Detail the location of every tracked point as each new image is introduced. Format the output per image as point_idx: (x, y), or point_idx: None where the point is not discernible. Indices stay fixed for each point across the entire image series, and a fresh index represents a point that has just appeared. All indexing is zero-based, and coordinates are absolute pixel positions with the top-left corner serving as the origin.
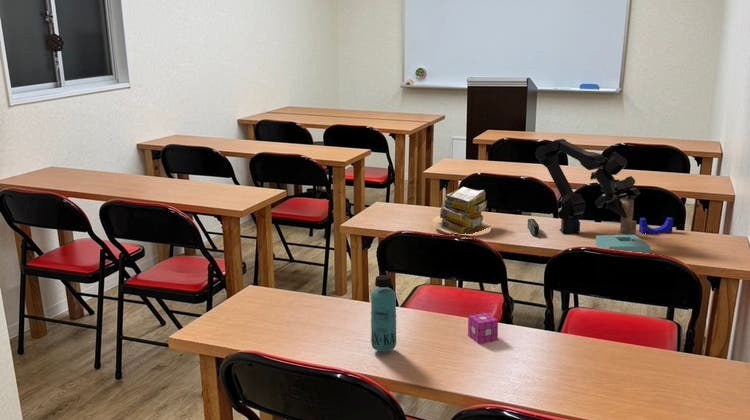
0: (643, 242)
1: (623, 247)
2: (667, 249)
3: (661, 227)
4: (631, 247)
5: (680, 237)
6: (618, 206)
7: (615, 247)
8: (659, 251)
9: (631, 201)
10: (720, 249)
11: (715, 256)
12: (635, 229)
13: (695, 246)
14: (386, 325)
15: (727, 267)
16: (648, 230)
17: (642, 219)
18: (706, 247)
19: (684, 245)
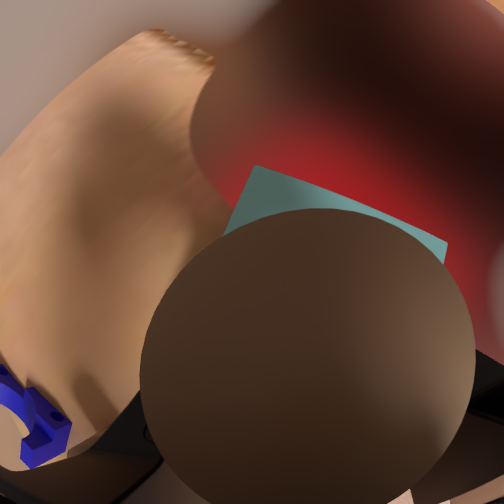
0: (239, 225)
1: (385, 216)
2: (128, 221)
3: (5, 397)
4: (347, 200)
5: (7, 316)
6: (481, 362)
7: (420, 232)
8: (176, 211)
9: (338, 212)
10: (27, 164)
11: (86, 113)
12: (96, 435)
13: (39, 212)
14: None
15: (152, 43)
16: (46, 413)
17: (32, 450)
18: (30, 192)
19: (50, 236)
